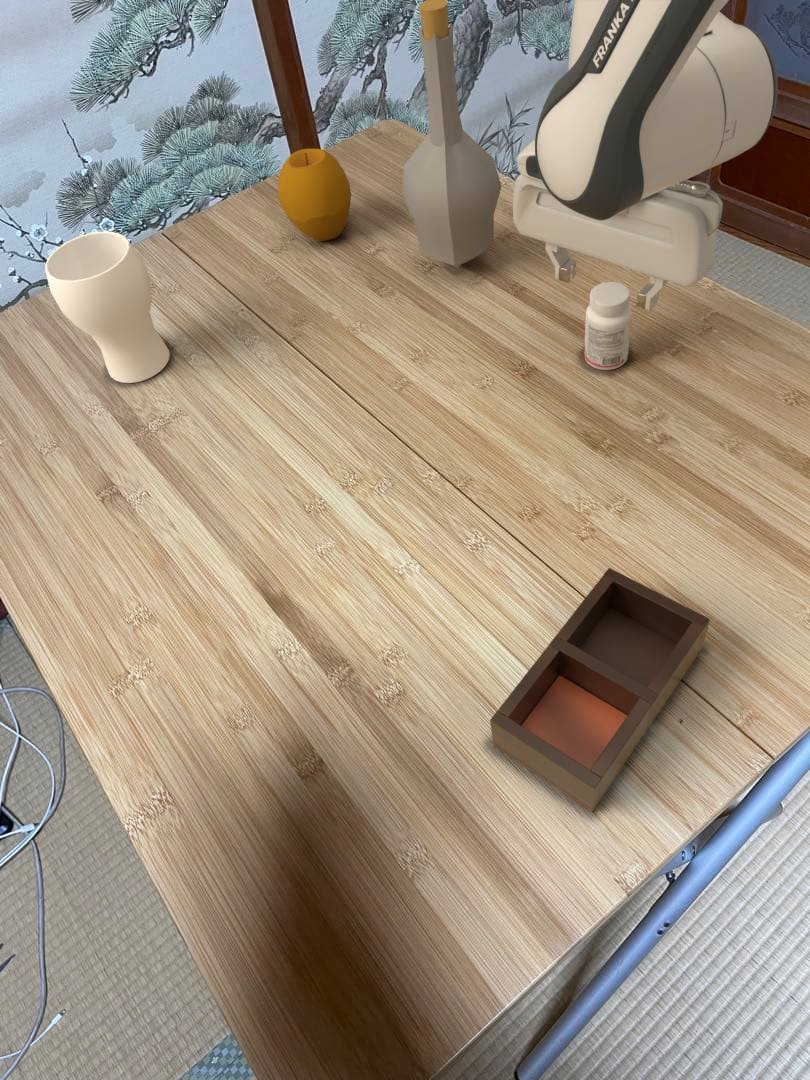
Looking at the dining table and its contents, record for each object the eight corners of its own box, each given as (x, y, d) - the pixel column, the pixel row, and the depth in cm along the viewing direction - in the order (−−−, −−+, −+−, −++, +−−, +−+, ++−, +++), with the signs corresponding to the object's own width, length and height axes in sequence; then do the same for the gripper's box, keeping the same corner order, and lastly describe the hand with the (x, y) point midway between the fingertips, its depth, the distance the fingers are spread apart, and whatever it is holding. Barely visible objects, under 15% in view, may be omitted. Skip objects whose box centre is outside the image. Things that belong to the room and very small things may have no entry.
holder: (606, 598, 73) (609, 567, 70) (701, 648, 69) (710, 618, 65) (492, 745, 66) (489, 720, 63) (591, 812, 62) (594, 789, 58)
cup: (106, 403, 99) (47, 297, 87) (90, 354, 105) (33, 249, 94) (190, 371, 101) (144, 262, 89) (170, 324, 107) (123, 217, 95)
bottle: (401, 286, 105) (359, 27, 82) (433, 236, 111) (403, -19, 88) (485, 298, 102) (467, 30, 78) (514, 245, 108) (505, -19, 84)
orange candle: (275, 239, 116) (252, 157, 107) (328, 207, 119) (310, 125, 110) (319, 263, 111) (298, 180, 102) (373, 229, 114) (357, 145, 105)
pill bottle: (596, 338, 94) (600, 274, 88) (635, 350, 92) (642, 285, 86) (576, 363, 92) (578, 299, 86) (615, 376, 90) (621, 312, 84)
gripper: (743, 171, 71) (715, 306, 82) (539, 122, 81) (538, 249, 91) (708, 207, 68) (684, 342, 79) (502, 152, 78) (505, 279, 89)
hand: (605, 291), depth 85 cm, fingers open, 8 cm apart
